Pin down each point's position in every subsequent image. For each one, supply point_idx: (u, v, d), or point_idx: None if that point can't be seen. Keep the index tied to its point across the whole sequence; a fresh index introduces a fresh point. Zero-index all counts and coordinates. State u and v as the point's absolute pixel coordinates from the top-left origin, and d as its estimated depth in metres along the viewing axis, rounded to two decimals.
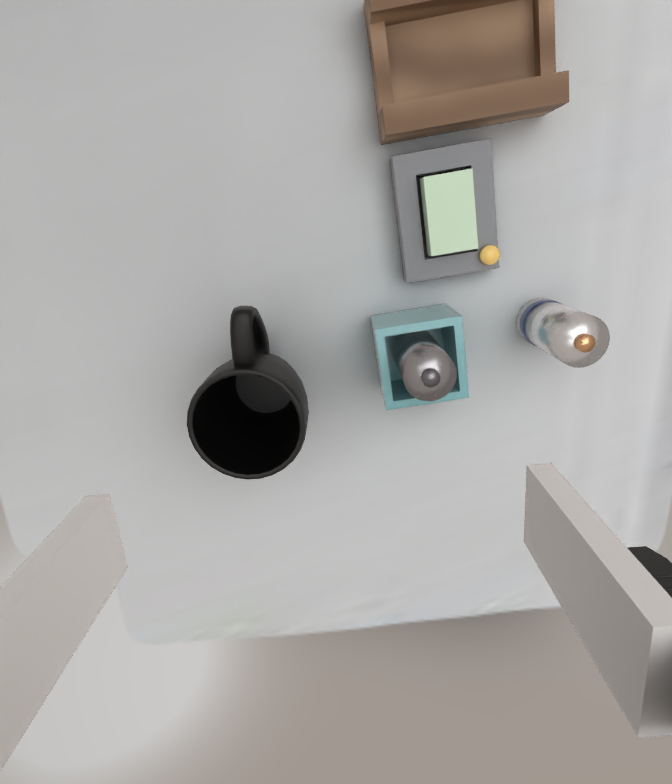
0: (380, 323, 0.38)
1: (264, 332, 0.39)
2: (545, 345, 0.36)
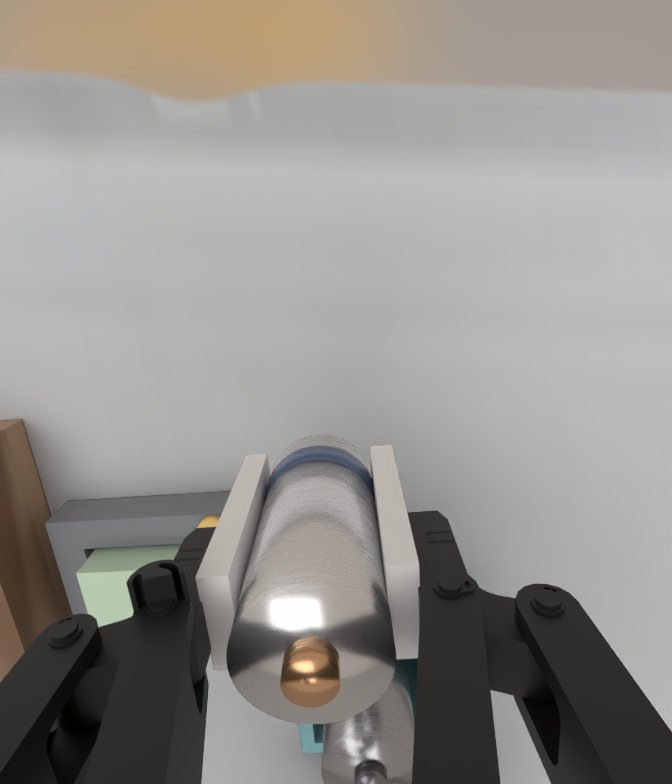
0: None
1: None
2: None
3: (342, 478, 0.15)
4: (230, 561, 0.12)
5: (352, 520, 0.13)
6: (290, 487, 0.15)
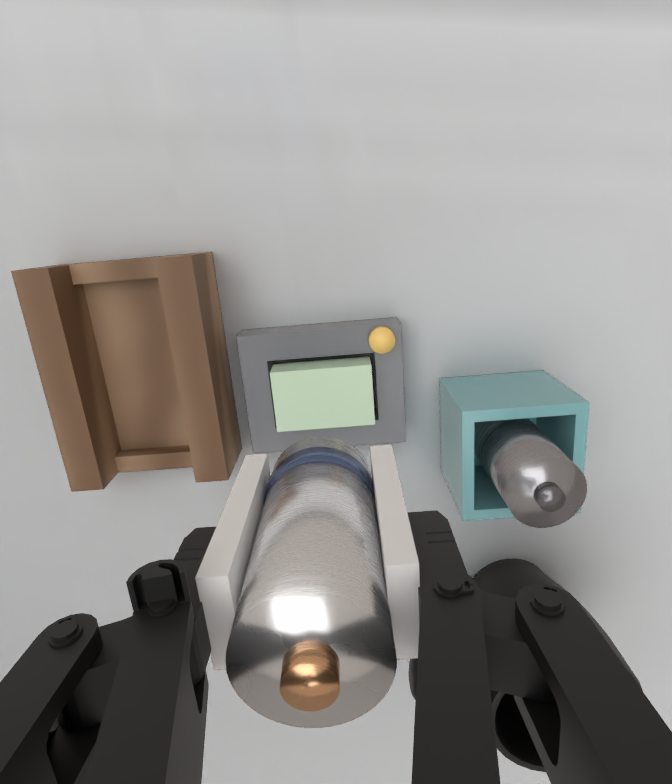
0: (454, 493, 0.28)
1: None
2: None
3: (342, 480, 0.15)
4: (230, 561, 0.12)
5: (352, 523, 0.13)
6: (290, 489, 0.14)
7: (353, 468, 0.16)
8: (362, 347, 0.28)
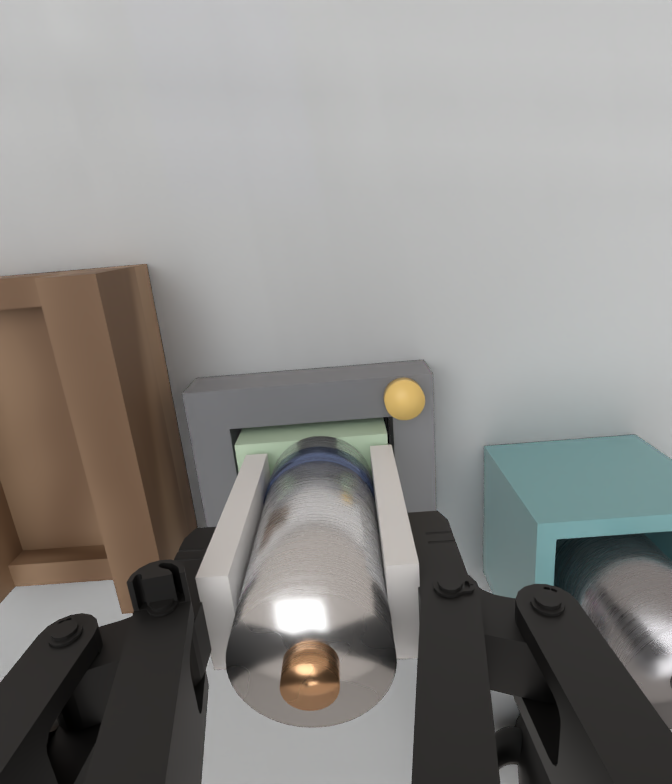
0: None
1: None
2: None
3: (342, 480, 0.15)
4: (230, 561, 0.12)
5: (352, 522, 0.13)
6: (290, 489, 0.14)
7: (353, 468, 0.16)
8: (374, 409, 0.18)
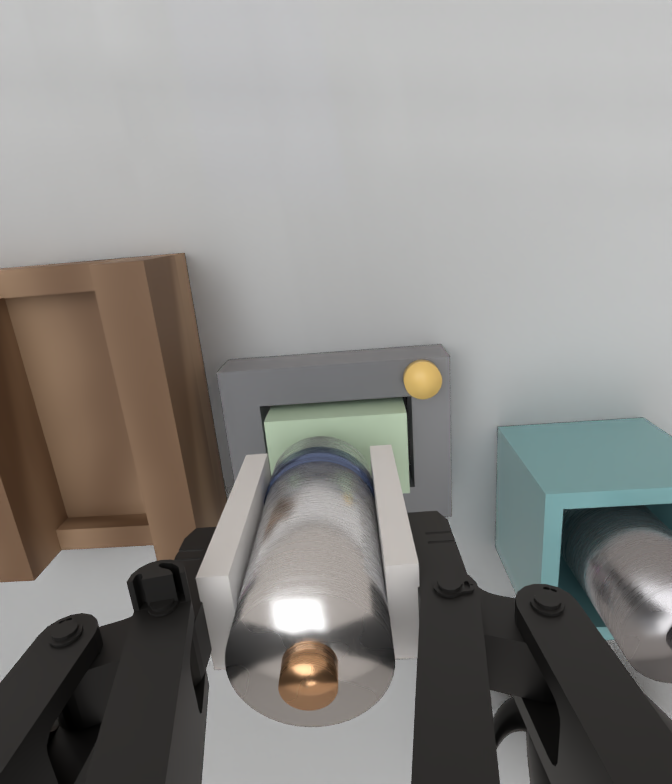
0: None
1: (496, 733, 0.24)
2: None
3: (342, 480, 0.15)
4: (230, 561, 0.12)
5: (352, 522, 0.13)
6: (290, 489, 0.14)
7: (353, 468, 0.16)
8: (394, 389, 0.20)
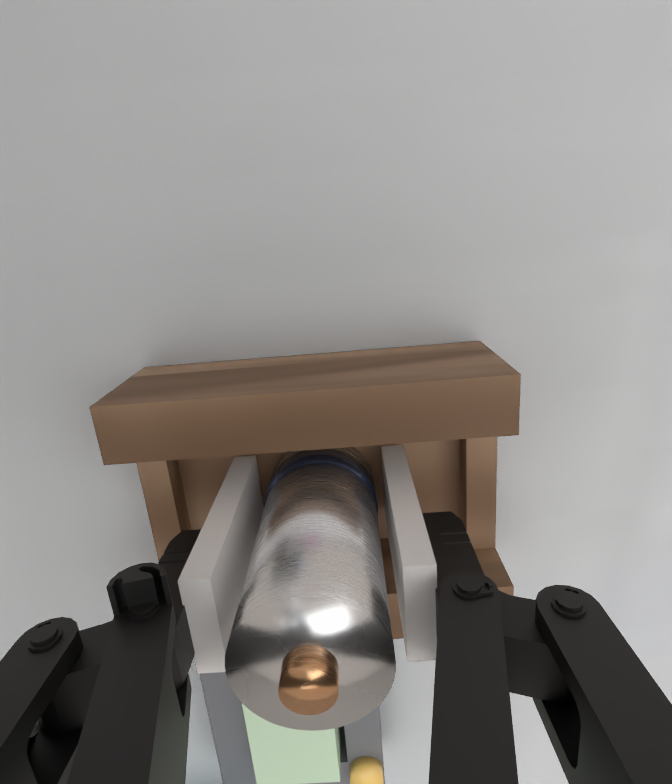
0: None
1: None
2: None
3: (343, 482, 0.15)
4: (213, 564, 0.12)
5: (352, 525, 0.13)
6: (290, 491, 0.14)
7: (354, 470, 0.16)
8: (354, 750, 0.21)
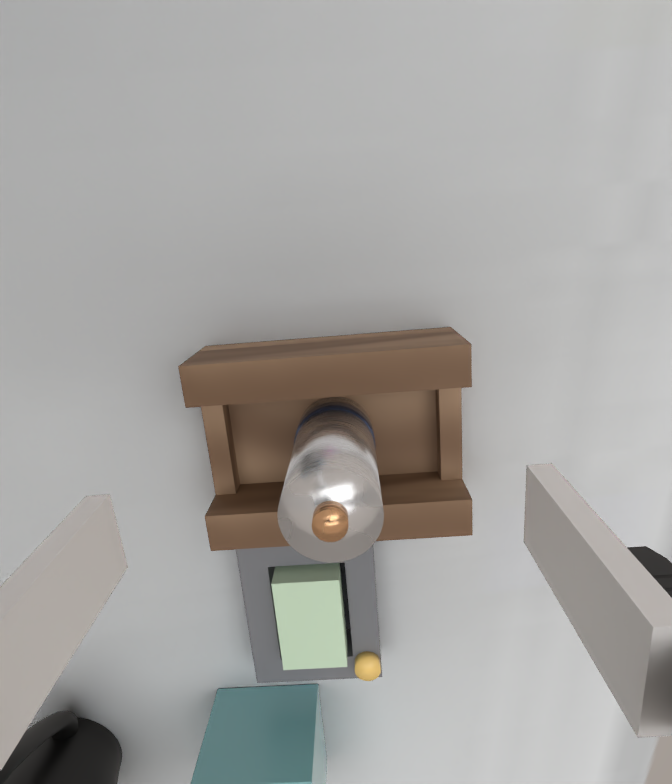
0: (210, 748, 0.27)
1: (58, 731, 0.28)
2: None
3: (350, 420, 0.21)
4: None
5: (357, 441, 0.19)
6: (314, 424, 0.21)
7: (358, 415, 0.22)
8: (358, 646, 0.27)
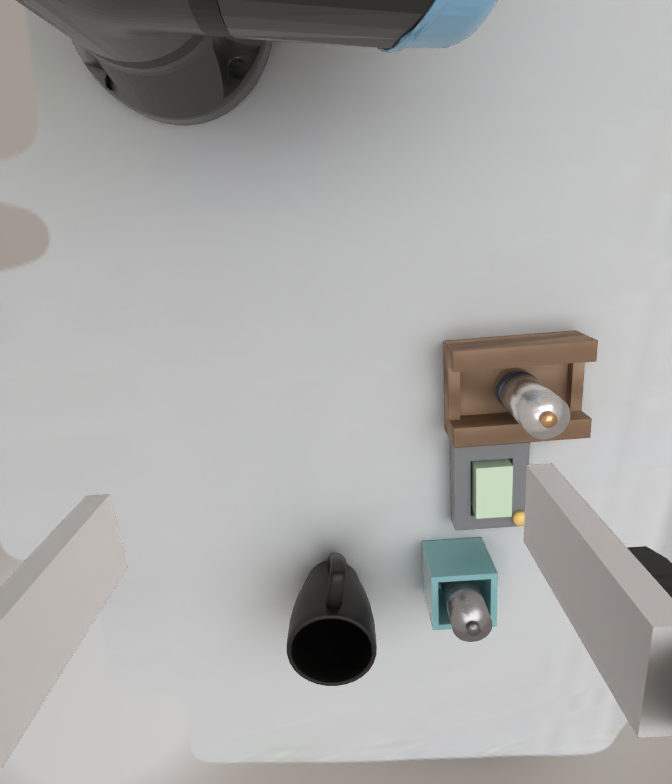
0: (433, 563, 0.49)
1: None
2: None
3: (534, 378, 0.43)
4: None
5: (546, 387, 0.41)
6: (518, 380, 0.43)
7: None
8: (515, 507, 0.49)
